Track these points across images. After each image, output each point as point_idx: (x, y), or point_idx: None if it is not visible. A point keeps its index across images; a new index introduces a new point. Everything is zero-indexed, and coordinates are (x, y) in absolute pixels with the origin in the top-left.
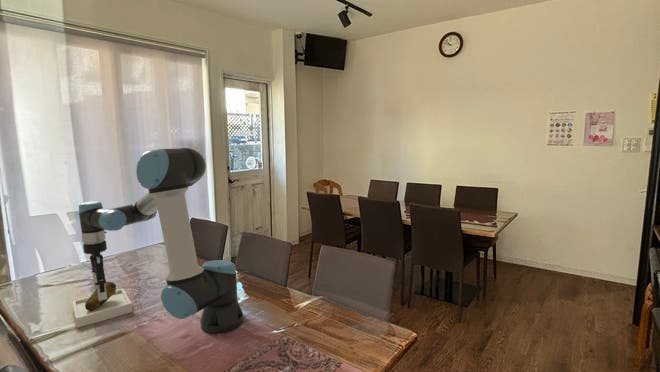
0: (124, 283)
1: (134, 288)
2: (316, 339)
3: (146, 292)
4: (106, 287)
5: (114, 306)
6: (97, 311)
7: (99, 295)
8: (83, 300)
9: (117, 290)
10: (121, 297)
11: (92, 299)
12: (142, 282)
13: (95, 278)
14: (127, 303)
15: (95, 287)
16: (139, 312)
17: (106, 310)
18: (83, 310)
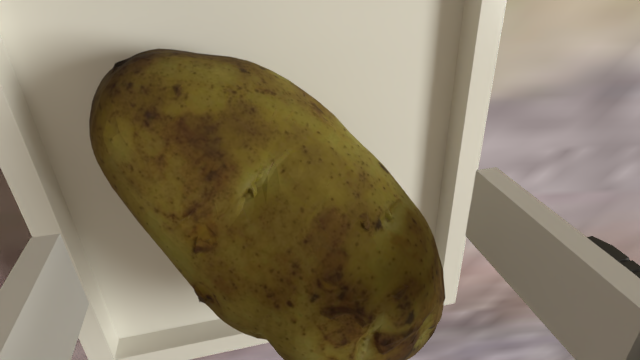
0: (624, 249)
1: (499, 300)
2: None
3: None
4: (272, 340)
5: (166, 256)
6: (30, 157)
7: (5, 301)
8: (469, 20)
9: (444, 273)
10: None
11: (133, 166)
12: (547, 328)
13: (564, 272)
14: (107, 356)
15: (484, 189)
16: (81, 352)
17: (31, 226)
18: (233, 13)
